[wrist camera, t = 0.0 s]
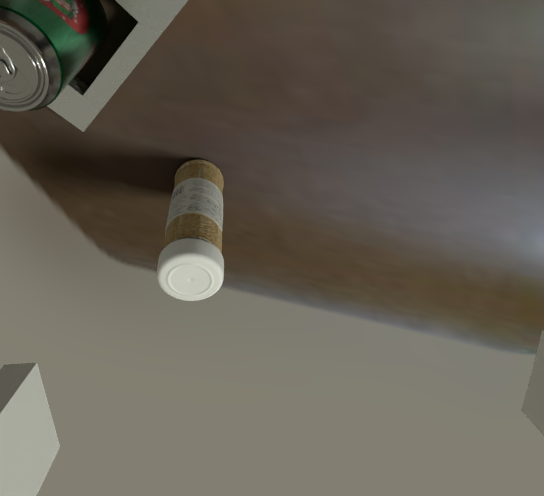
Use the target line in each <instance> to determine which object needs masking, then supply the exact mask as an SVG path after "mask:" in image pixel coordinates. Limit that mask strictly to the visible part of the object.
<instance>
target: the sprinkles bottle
mask: <svg viewBox="0 0 544 496" xmlns="http://www.w3.org/2000/svg"><path fill="white" fill-rule="evenodd" d="M223 183H224V181H223V176H222V174H221V172H220V170H219V169H218V168H217V167H216V166H215V165H214V164H212V163H210V162H208V161H205V160H199V159H198V160H191V161H188V162H185V163H184V164H183V165H181V166H180V168H179V169H178V170H177V172H176V175H175V186H174V190H173V193H172V198H171V203H170V209H169V214H168V219H167V225H166V231H165V235H166V236H165V242H164V248H163V250H162V252H161V254H160V256H159V261H158V268H157V280H158V283H159V285H160V287H161V288H162V289H163V290H164V291H165V292H166V293H167V294H169V295H170V296H172V297H175V298H177V299H181V300H187V301H195V300H201V299H205V298H208V297H209V296H211V295H213V294H214V293H216V292H217V291H218V290H219V288H220V287H221V285H222V283H223V278H224V260H223V256H222V254H221V248H222V223H223V197H222V189H223Z"/></svg>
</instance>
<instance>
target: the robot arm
mask: <svg viewBox="0 0 544 496" xmlns="http://www.w3.org/2000/svg"><path fill="white" fill-rule="evenodd" d="M522 412H523V413H524V414H525V415H526V416H527V417H528V418H529V419H530V420H531V422H532V423H533V424H534V425H535V426H536V427H537V428H538V429H539V430H540V432H541V433H542V434H543V435H544V330H543V331H542V335H541V338H540V342H539V346H538V350H537V354H536V357H535V362H534V365H533V369H532V373H531V376H530V380H529V384H528V388H527V392H526V395H525V399H524V403H523V407H522ZM59 448H60V445H59V442H58V438H57V434H56V431H55V427H54V423H53V420H52V416H51V413H50V409H49V405H48V401H47V398H46V394H45V391H44V387H43V383H42V380H41V376H40V372H39V369H38V365H37V363H26V364H9V365H4V366H3V367H2V368H1V369H0V496H36V495H37V493H38V491H39V489H40V487H41V485H42V483H43V481H44V479H45V477H46V475H47V473H48V470H49V469H50V466H51V464H52V462H53V460H54V458H55V456H56V454H57V452H58V450H59Z"/></svg>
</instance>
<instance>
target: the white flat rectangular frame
mask: <svg viewBox="0 0 544 496" xmlns="http://www.w3.org/2000/svg"><path fill="white" fill-rule="evenodd" d="M115 1H117V2H118V3H119V4H120V5H121V6H122V7H123V8H124V9H125V10H126V11H127V12H128V13H129V14H130V15H131V16H133V17H134V18H135V19H136V20H137V21H138V23H137V25H136V26H135V27H134V29H133V30H132V31H131V33H130V34H129V35H128V37H127V38H126V39H125V40H124V42H123V43H122V44H121V46H120V47H119V48H118V50H117V51H116V52H115V54H114V55H113V56H112V58H111V59H110V60H109V62H108V63H107V64H106V66H105V67H104V68H103V70H102V71H101V72H100V74H99V75H98V76H97V77H96V79H95V80H94V81H93V83H92V84H91V85H90V87H89V86H88V85H87V84H86V83H84V82H83V81H82V80H81V79H79V78H78V77H77V76H75V77H74V78H73V79H72V80H71V82H70V83H69V84H68V85H67V86H66V87H65V89H64V90H63V91H62V92H61V93H60V94H59V96H58V97H57V98H56V99H55V100H54V101H53V102H52V103H51V104H49V105H47V106H48V107H49V108H51V109H52V110H53V111H55V112H56V113H57V114H59V115H60V116H62V117H63V118H64V119H66V120H67V121H69V122H70V123H71V124H73V125H74V126H76V127H77V128H78V129H80V130H81V131H83V132H84V130H85V129H86V128H87V127H88V125H89V124H90V123H91V122H92V120H93V119H94V118H95V117H96V115H97V114H98V113H99V112H100V110H101V109H102V108H103V107H104V105H105V104H106V103H107V102H108V100H109V99H110V98H111V97H112V95H113V94H114V93H115V92H116V90H117V89H118V88H119V87H120V85H121V84H122V83H123V82H124V80H125V79H126V78H127V76H128V75H129V74H130V73H131V71H132V70H133V69H134V68H135V66H136V65H137V64H138V63H139V61H140V60H141V59H142V58H143V56H144V55H145V54H146V53H147V51H148V50H149V49H150V48H151V46H152V45H153V44H154V43H155V41H156V40H157V39H158V38H159V36H160V35H161V34H162V33H163V31H164V30H165V29H166V28H167V26H168V25H169V24H170V23H171V21H172V20H173V19H174V17H175V16H176V15H177V14H178V12H179V11H180V10H181V9H182V7H183V6H184V5H185V4H186V2H187V1H188V0H115Z"/></svg>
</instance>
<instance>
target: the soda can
mask: <svg viewBox="0 0 544 496" xmlns="http://www.w3.org/2000/svg"><path fill="white" fill-rule="evenodd" d="M106 34H107V19H106V14H105V11H104V8H103V6H102V4H101V2H100V0H0V109H3V110H6V111H32V110H38V109H41V108H44V107H46V106H47V105H49V104H51V103H52V102H53V101H54V100H55V99H56V98H57V97H58V96H59V94H60V93H61V92H62V91H63V90H64V89H65V87H66V86H67V85H68V84H69V83H70V82H71V80H72V79H73V78H74V77H75V76H76V75H77V73H78V72H79V71H80V70H81V69H82V68H83V66H84V65H85V64H86V63H87V62H88V60H89V59H90V58H91V57H92V56H93V55H94V53H95V52H96V51H97V50H98V49H99V48H100V46H101V45H102V44H103V42H104V40H105V37H106Z"/></svg>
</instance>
